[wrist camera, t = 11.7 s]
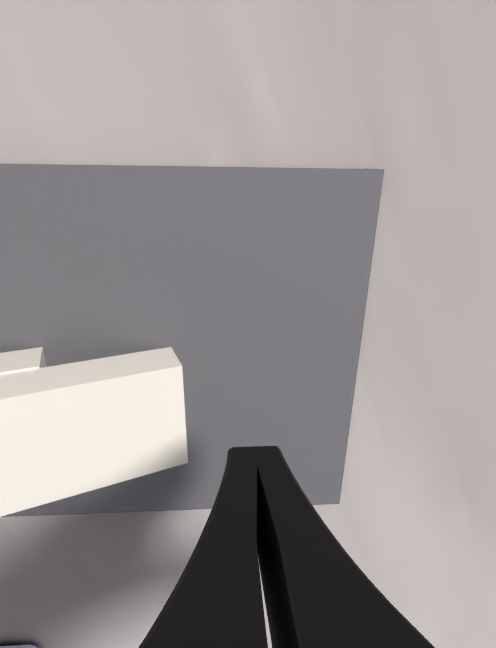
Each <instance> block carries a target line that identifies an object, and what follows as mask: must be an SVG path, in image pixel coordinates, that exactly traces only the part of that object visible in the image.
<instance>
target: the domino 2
mask: <svg viewBox="0 0 496 648" xmlns="http://www.w3.org/2000/svg"><path fill="white" fill-rule="evenodd" d="M186 463H188V454H187V438H186V421H185V404H184V387H183V370H182V365H181V363H180V361H179V359H178V358H177V356H176V354H175V353H174V351H173V349H172V348H171V347H167V348H161V349H154V350H148V351H142V352H136V353H130V354H124V355H117V356H111V357H105V358H99V359H93V360H87V361H80V362H74V363H68V364H62V365H56V366H50V367H44V368H37V369H31V370H25V371H19V372H13V373H7V374H0V517H1V516H5V515H8V514H12V513H15V512H19V511H22V510H26V509H29V508H33V507H36V506H39V505H43V504H46V503H50V502H53V501H57V500H60V499H64V498H67V497H71V496H74V495H78V494H81V493H85V492H88V491H92V490H95V489H99V488H102V487H106V486H109V485H113V484H116V483H119V482H123V481H126V480H130V479H133V478H137V477H140V476H144V475H147V474H151V473H154V472H158V471H161V470H165V469H168V468H172V467H175V466H179V465H182V464H186Z"/></svg>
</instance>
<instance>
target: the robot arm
mask: <svg viewBox="0 0 496 648" xmlns="http://www.w3.org/2000/svg"><path fill="white" fill-rule="evenodd" d="M258 559H259V563H258ZM259 565H260V572H261V578H262V584H263V591H264V597H265V603H266V609H267V616H268V622H269V628H270V634H271V641H272V648H435V647H434V646H433V645H432V644H431V643H430V642H429V641H428V640H427V639H426V638H425V637H424V636H423V635H422V634H421V633H420V632H419V631H418V630H417V629H416V628H415V627H414V626H413V625H412V624H411V623H410V622H409V621H408V620H407V619H406V618H405V617H404V616H403V615H402V614H401V613H400V612H399V611H398V610H397V609H396V608H395V607H394V606H393V605H392V604H391V603H390V602H389V601H388V600H387V599H386V598H385V597H384V595H383V594H382V593H381V592H380V591H379V590H378V589H377V588H376V587H375V585H374V584H373V583H372V582H371V581H370V580H369V579H368V578H367V576H366V575H365V574H364V573H363V572H362V571H361V569H360V568H359V567H358V566H357V565H356V563H355V562H354V561H353V560H352V559H351V557H350V556H349V555H348V554H347V552H346V551H345V550H344V549H343V547H342V546H341V545H340V543H339V542H338V541H337V540H336V538H335V537H334V536H333V534H332V533H331V531H330V530H329V529H328V527H327V526H326V525H325V523H324V522H323V520H322V519H321V518H320V516H319V515H318V513H317V512H316V510H315V509H314V507H313V506H312V504H311V503H310V501H309V500H308V498H307V497H306V495H305V494H304V492H303V490H302V489H301V487H300V485H299V484H298V482H297V480H296V479H295V477H294V475H293V473H292V472H291V470H290V468H289V466H288V464H287V462H286V460H285V458H284V456H283V454H282V452H281V450H280V448H279V447H277V446H251V447H232V448H230V449H229V450H228V455H227V462H226V467H225V471H224V475H223V478H222V482H221V485H220V488H219V491H218V494H217V496H216V499H215V502H214V505H213V508H212V510H211V513H210V515H209V518H208V520H207V522H206V525H205V527H204V529H203V532H202V534H201V536H200V538H199V541H198V543H197V545H196V547H195V549H194V551H193V554H192V556H191V558H190V560H189V562H188V564H187V566H186V568H185V569H184V571H183V573H182V575H181V577H180V579H179V581H178V583H177V585H176V586H175V588H174V590H173V592H172V593H171V595H170V597H169V599H168V600H167V602H166V604H165V606H164V607H163V609H162V611H161V612H160V614H159V616H158V618H157V619H156V621H155V623H154V624H153V626H152V627H151V629H150V631H149V632H148V634H147V636H146V637H145V639H144V640H143V642H142V643H141V645H140V646H139V648H268V645H267V637H266V628H265V619H264V610H263V601H262V592H261V582H260V573H259ZM0 648H37V647H36V646H34V645H13V646H0Z"/></svg>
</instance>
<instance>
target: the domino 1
mask: <svg viewBox="0 0 496 648" xmlns="http://www.w3.org/2000/svg"><path fill="white" fill-rule="evenodd" d="M44 367H47V366H46V361H45V356H44V351H43V347H39V348H31V349H24V350H17V351H10V352H3V353H0V374H7V373H13V372H19V371H25V370H31V369H37V368H44Z"/></svg>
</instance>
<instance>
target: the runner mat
mask: <svg viewBox="0 0 496 648" xmlns="http://www.w3.org/2000/svg"><path fill="white" fill-rule="evenodd" d="M383 174H384V169H321V168H252V167H183V166H114V165H44V164H0V353H3V352H10V351H17V350H24V349H31V348H39V347H43V351H44V356H45V361H46V366H47V367H50V366H56V365H62V364H68V363H74V362H80V361H87V360H93V359H99V358H105V357H111V356H117V355H124V354H130V353H136V352H142V351H148V350H154V349H161V348H167V347H171V348H172V349H173V351H174V353H175V354H176V356H177V358H178V359H179V361H180V363H181V365H182V370H183V387H184V404H185V421H186V438H187V454H188V463H186V464H182V465H179V466H175V467H172V468H168V469H165V470H161V471H158V472H154V473H151V474H147V475H144V476H140V477H137V478H133V479H130V480H126V481H123V482H119V483H116V484H113V485H109V486H106V487H102V488H99V489H95V490H92V491H88V492H85V493H81V494H78V495H74V496H71V497H67V498H64V499H60V500H57V501H53V502H50V503H46V504H43V505H39V506H36V507H33V508H29V509H26V510H22V511H19V512H15V513H12V514H8V515H5V516H1V517H9V516H35V515H61V514H87V513H114V512H140V511H166V510H192V509H212V508H213V505H214V502H215V499H216V496H217V494H218V491H219V488H220V485H221V482H222V478H223V475H224V471H225V467H226V462H227V455H228V450H229V449H230V448H232V447H251V446H277V447H279V448H280V450H281V452H282V454H283V456H284V458H285V460H286V462H287V464H288V466H289V468H290V470H291V472H292V473H293V475H294V477H295V479H296V480H297V482H298V484H299V485H300V487H301V489H302V490H303V492H304V494H305V495H306V497H307V498H308V500H309V501H310V503H311V504H312V505H323V504H339V501H340V494H341V487H342V479H343V472H344V464H345V457H346V449H347V442H348V434H349V427H350V420H351V412H352V405H353V397H354V390H355V382H356V375H357V367H358V360H359V352H360V345H361V338H362V330H363V323H364V315H365V308H366V300H367V293H368V285H369V278H370V271H371V263H372V256H373V248H374V241H375V233H376V226H377V218H378V211H379V204H380V196H381V189H382V181H383Z"/></svg>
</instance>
